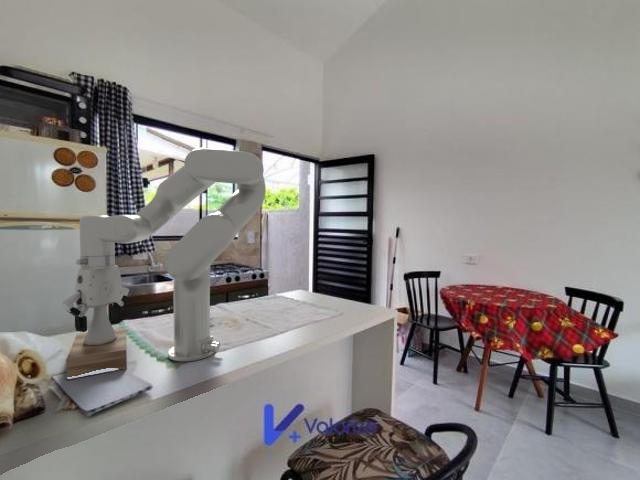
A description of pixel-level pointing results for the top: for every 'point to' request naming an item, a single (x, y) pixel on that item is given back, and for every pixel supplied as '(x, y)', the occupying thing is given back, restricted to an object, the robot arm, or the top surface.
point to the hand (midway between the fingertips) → (99, 325)
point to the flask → (100, 328)
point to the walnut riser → (97, 355)
